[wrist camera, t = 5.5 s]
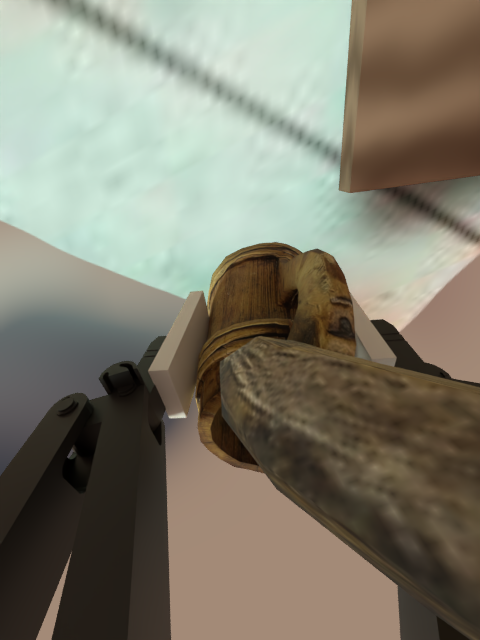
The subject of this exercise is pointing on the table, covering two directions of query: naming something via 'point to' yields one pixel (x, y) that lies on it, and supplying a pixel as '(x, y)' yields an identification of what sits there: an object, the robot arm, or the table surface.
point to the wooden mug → (343, 425)
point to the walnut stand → (411, 93)
